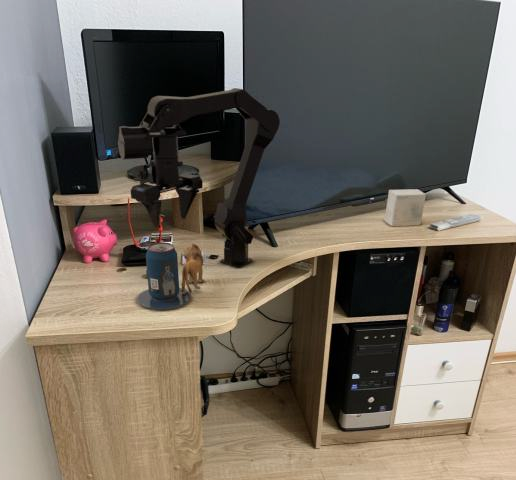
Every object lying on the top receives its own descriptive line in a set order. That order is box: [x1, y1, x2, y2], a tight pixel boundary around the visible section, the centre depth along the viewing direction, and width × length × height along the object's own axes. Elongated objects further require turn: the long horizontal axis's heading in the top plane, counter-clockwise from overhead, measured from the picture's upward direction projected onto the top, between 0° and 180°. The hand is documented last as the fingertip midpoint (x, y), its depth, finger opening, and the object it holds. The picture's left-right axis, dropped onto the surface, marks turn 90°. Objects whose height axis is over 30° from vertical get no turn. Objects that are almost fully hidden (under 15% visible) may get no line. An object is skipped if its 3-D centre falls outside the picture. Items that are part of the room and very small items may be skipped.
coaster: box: [137, 287, 191, 312], centre depth 125 cm, size 12×12×1 cm
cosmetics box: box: [383, 188, 427, 227], centre depth 178 cm, size 10×6×10 cm, turn 101°
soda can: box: [145, 242, 180, 302], centre depth 122 cm, size 7×7×12 cm
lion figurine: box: [180, 243, 205, 294], centre depth 129 cm, size 15×5×9 cm, turn 4°
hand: (170, 222), depth 133 cm, fingers open, 9 cm apart
